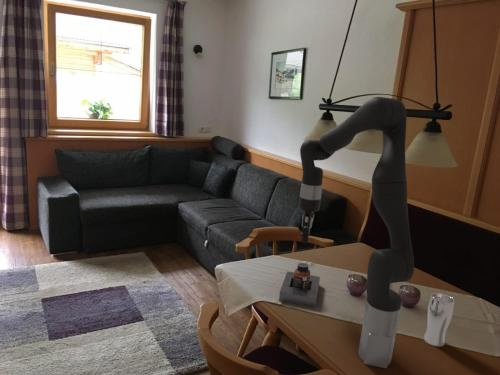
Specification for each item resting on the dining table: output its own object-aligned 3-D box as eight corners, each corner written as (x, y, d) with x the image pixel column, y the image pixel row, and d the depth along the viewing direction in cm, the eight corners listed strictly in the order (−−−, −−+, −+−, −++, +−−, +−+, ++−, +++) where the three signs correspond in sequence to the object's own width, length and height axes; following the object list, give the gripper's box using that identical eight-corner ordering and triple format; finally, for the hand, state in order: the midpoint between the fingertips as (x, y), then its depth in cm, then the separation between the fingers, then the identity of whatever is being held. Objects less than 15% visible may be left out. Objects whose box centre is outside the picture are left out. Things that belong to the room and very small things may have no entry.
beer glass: (444, 350, 124) (453, 306, 121) (420, 342, 128) (428, 298, 124) (447, 339, 130) (456, 297, 126) (424, 331, 133) (432, 290, 130)
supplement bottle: (307, 297, 150) (310, 269, 147) (291, 295, 151) (294, 266, 148) (308, 290, 156) (311, 262, 153) (293, 287, 157) (295, 260, 154)
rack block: (315, 307, 143) (316, 298, 143) (278, 300, 146) (279, 291, 145) (319, 285, 160) (320, 276, 160) (286, 279, 163) (287, 271, 162)
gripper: (319, 202, 137) (314, 247, 141) (322, 193, 151) (317, 234, 154) (297, 199, 139) (292, 244, 142) (302, 190, 152) (297, 231, 156)
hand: (305, 239), depth 148 cm, fingers open, 8 cm apart
